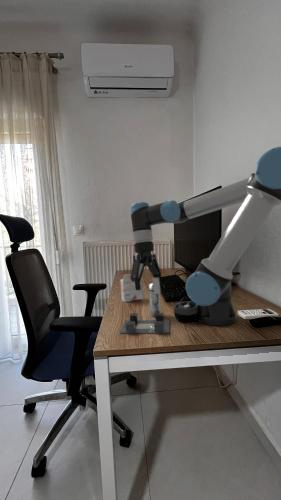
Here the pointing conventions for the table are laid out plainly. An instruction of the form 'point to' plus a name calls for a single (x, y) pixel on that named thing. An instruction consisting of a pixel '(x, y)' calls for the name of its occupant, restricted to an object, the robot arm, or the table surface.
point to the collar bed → (145, 325)
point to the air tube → (154, 301)
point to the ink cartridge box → (128, 289)
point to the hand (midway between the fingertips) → (149, 296)
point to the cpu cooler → (186, 311)
